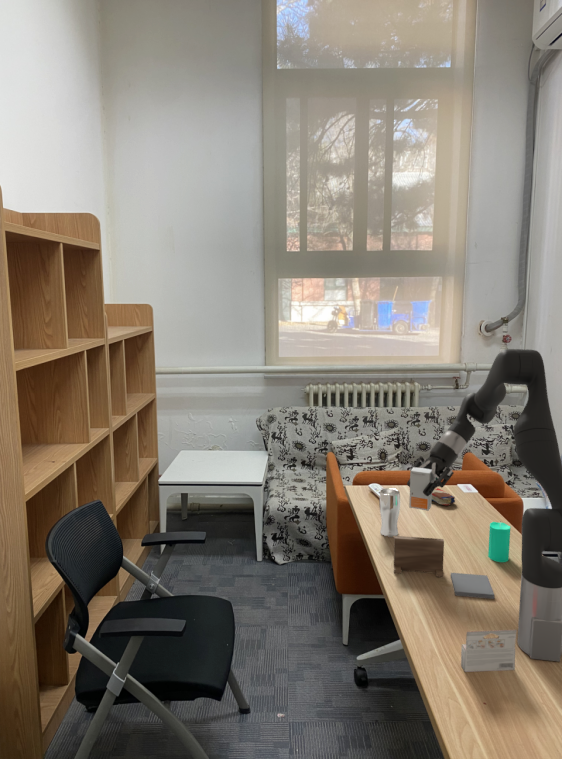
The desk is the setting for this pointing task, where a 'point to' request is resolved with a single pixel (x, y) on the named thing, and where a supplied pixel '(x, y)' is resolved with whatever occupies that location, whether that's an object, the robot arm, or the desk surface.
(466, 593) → the grey mat
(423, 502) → the skincare box
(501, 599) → the desk surface
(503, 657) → the ink cartridge box
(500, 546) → the candle
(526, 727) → the desk surface
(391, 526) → the beer glass
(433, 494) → the paperback book
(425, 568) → the walnut screen
